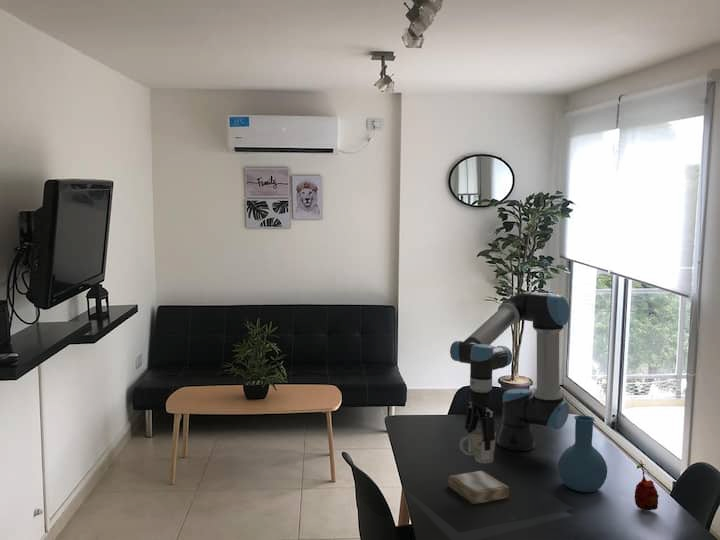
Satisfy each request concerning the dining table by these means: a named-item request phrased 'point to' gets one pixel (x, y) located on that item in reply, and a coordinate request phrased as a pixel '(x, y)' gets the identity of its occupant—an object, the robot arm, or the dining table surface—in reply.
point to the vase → (582, 460)
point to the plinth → (478, 487)
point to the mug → (478, 446)
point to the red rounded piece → (646, 494)
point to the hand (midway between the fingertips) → (478, 455)
